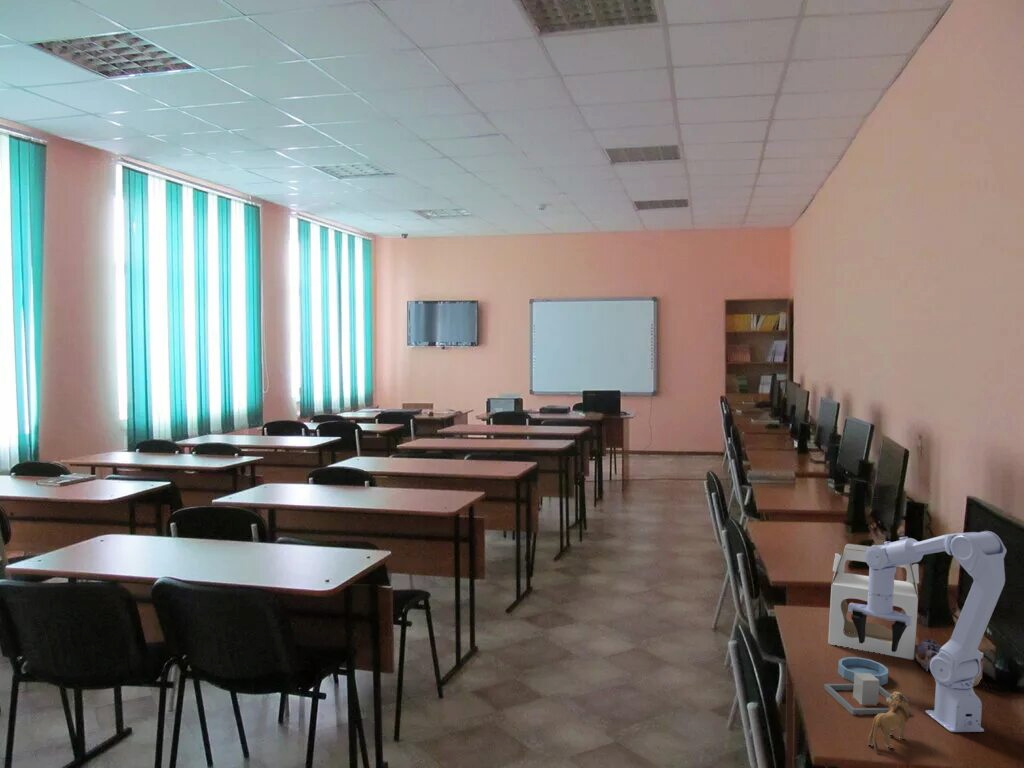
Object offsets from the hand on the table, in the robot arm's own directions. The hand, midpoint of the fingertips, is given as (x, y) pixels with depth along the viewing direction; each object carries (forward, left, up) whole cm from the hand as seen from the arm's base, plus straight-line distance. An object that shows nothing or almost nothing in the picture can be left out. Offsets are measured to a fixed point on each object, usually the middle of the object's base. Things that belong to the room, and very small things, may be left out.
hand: (877, 646), depth 197 cm
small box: (+1, -25, -10) cm, 27 cm away
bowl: (+5, +1, -10) cm, 11 cm away
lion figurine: (-27, +13, -10) cm, 31 cm away
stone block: (-9, +8, -10) cm, 15 cm away
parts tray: (-9, +8, -10) cm, 15 cm away
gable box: (+26, -13, -10) cm, 31 cm away
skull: (+11, -21, -10) cm, 26 cm away
